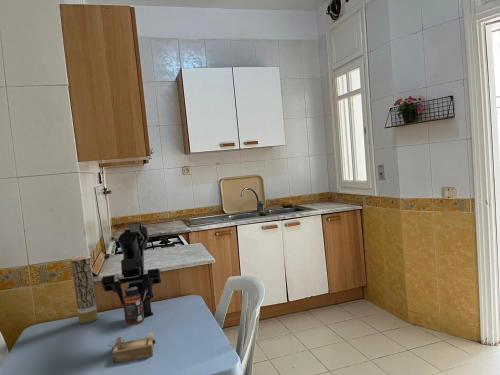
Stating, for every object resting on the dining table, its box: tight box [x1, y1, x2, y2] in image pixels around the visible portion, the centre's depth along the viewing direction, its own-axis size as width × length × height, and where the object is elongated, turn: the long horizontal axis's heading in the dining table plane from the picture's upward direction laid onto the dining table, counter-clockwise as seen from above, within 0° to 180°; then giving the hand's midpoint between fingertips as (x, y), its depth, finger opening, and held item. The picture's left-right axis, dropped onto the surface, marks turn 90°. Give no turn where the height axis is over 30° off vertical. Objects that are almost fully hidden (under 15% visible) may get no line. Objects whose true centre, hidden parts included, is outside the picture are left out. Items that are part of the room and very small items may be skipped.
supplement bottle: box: [122, 287, 145, 327], centre depth 123 cm, size 6×6×11 cm
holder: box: [111, 330, 157, 364], centre depth 115 cm, size 11×13×3 cm
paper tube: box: [71, 254, 98, 324], centre depth 146 cm, size 7×7×25 cm
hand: (132, 302), depth 121 cm, fingers closed on supplement bottle, 6 cm apart
